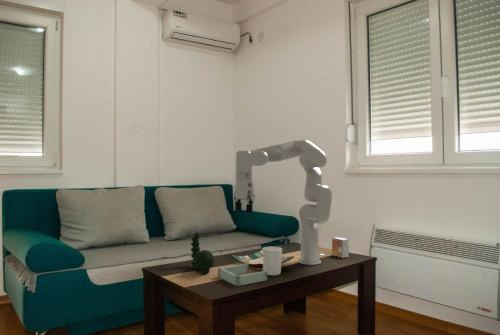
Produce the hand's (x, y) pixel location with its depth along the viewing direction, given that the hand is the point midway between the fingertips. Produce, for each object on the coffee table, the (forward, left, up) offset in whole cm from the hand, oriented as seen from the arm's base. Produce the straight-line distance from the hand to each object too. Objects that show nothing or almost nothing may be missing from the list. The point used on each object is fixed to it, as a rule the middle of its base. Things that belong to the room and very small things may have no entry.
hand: (243, 211), depth 187 cm
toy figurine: (+14, -17, -31) cm, 38 cm away
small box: (-68, -1, -31) cm, 75 cm away
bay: (+4, +6, -30) cm, 31 cm away
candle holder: (-13, +6, -31) cm, 34 cm away
